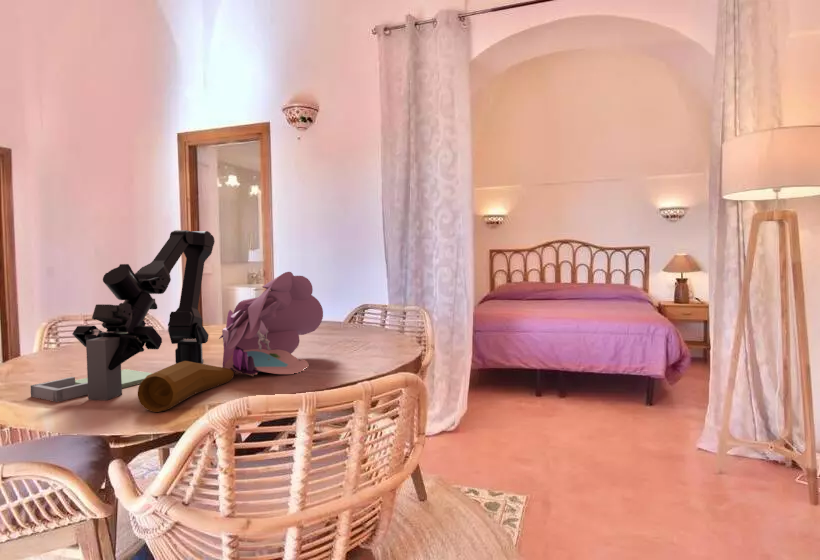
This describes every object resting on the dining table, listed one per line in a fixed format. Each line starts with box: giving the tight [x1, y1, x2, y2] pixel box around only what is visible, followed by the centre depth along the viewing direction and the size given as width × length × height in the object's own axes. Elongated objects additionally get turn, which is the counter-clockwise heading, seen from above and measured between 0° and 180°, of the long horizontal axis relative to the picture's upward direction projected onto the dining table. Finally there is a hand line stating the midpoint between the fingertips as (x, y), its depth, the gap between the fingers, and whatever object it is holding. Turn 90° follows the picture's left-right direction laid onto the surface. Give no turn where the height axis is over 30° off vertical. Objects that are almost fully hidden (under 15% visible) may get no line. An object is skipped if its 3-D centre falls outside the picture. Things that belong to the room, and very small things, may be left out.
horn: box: [137, 361, 235, 413], centre depth 109 cm, size 8×10×25 cm
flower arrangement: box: [218, 271, 324, 377], centre depth 134 cm, size 36×24×29 cm
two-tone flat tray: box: [30, 368, 154, 403], centre depth 117 cm, size 23×14×2 cm, turn 154°
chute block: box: [85, 337, 123, 401], centre depth 108 cm, size 4×4×13 cm
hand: (99, 368), depth 106 cm, fingers closed on chute block, 4 cm apart
